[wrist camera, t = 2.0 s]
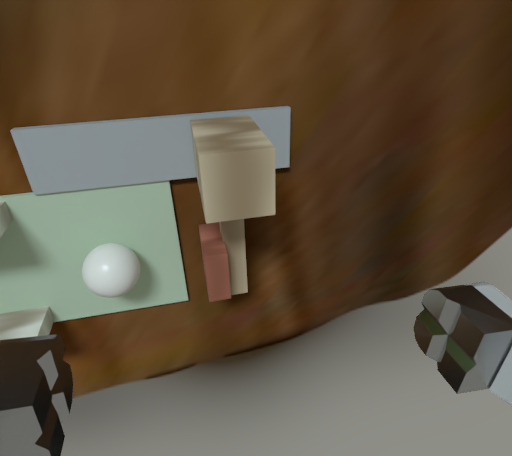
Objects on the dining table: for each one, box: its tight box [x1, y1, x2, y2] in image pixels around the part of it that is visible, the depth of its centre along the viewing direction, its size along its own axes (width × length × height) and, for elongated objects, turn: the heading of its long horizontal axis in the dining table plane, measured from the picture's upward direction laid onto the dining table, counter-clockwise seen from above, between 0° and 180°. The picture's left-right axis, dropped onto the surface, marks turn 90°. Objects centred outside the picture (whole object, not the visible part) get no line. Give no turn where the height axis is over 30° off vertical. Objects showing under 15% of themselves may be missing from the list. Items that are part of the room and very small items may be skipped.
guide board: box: [10, 106, 290, 195], centre depth 26 cm, size 18×4×1 cm, turn 92°
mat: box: [0, 180, 188, 322], centre depth 29 cm, size 18×12×1 cm, turn 92°
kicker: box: [190, 115, 275, 302], centre depth 25 cm, size 4×13×7 cm, turn 2°
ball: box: [82, 243, 140, 298], centre depth 27 cm, size 4×4×4 cm
